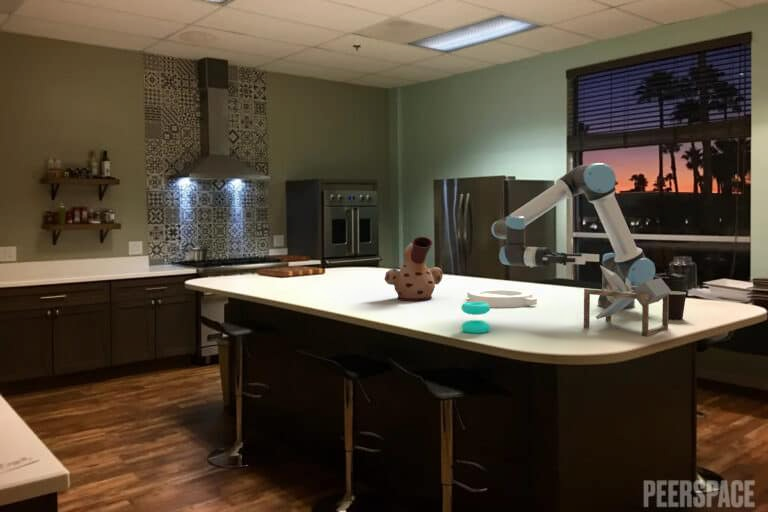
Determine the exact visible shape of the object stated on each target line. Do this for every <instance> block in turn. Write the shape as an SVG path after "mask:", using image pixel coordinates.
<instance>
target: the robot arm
mask: <svg viewBox="0 0 768 512" xmlns="http://www.w3.org/2000/svg"><path fill="white" fill-rule="evenodd" d="M616 181H617V175H616V172H615V171H614V169H613V168H612V167H611V166H609V165H608V164H606V163H601V162H593V163H589V164H581V165H578V166H576V167H574V168H573V169H571V170H570V171H568V172H567V173H565V174H564V175H562V176H561V177H560V178H558V179H557V180H556V181H555V183H554V184H553V185H552V186H551V187H549V188H547V189H545V190H544V191H543V192H542V193H540V194H538V195H537V196H535V197H534V198H532V199H531V200H530V201H528V202H526V203H525V204H524V205H522V206H521V207H518V209H516V210H514V211H513V212H511V213H510V214H509V215H507V216H505V217H504V218H503V219H499V220H497V221H496V220H495V221H494V222H493V224H492V225H491V228H490V229H491V234H492V235H493V236H494V237H495V238H497V239H500V240H505V245H504V246H501V248H500V251H499V255H498V257H499V260H500V263H501V264H503V265H506V266H513V267H514V266H515V267H516V266H517V267H519V266H520V267H530V268H531V269H532V268H534V267H539V268H540V267H541V268H547V267H549V266H550V264H560V265H562V266H567V264H568V265H569V264H570V265H586V262H600V254H597V253H584V252H583V251H581V252H580V253H565V252H556V251H555V252H551V249H550V248H549V247H542V246H541V247H538V246H526V227H527V225H529V224H530V223H531V224H532V222H534V221H535V220H537V219H538V218H539V217H541V216H543V215H544V214H545V213H547V212H549V211H550V210H551V209H553V208H554V207H556V206H557V205H559V204H560V203H562V202H563V201H565V200H571V199H572V198H574V197H577V196H578V195H581V194H584V196H585V198H586V199H587V201H588V202H589V203H591V204H592V205H594V206H593V207H594V208H595V210H596V212H597V215H598V217H599V219H600V223H601V224H602V226H603V229H604V231H605V233H606V236H607V237H608V241H609V242H610V245H611V247H612V249H613V252H609V253H605V254H603V255H602V261H601V264H602V265H601V266H602V267H604V268H606V269H608V270H610V271H611V272H613V273H614V272H615V273H616V274H617V275H618V276H619V277H620V278H621V280H622V281H623V282H624V284H625V280H626V278H627V279H628V280H629V281H630V282H631V286H635V287H638V286H639V285H641V284H642V283H643V282H645V281H649V280H654V276H655V274H656V267H655V263H654V262H653V261H652V259H651V260H650V259H649V258H648V257H646V256H645V253H644V250H643V249H642V248H640V247H637V245H636V242H635V241H634V238H633V236H632V234H631V231H630V229H629V227H628V226H629V225H628V224H627V222H626V219H625V217H624V215H623V213H622V210H621V208H620V205H619V203H618V201H617V199H616V196H615V193H616V191H617V188H616V187H615V184H616ZM601 272H602V278H601V279H602V282H601V283H602V285H601V287H602V288H601V290H604V289H606V285H607V284H609V282H608V281H607V279H606V277H605V275H604V273H603V271H602V270H601ZM609 285H610V284H609ZM625 286H626V285H625ZM603 288H604V289H603ZM598 296H599V297H598V299H597V306H599V307H603V308H606V296H604V295H598ZM635 301H636V299H635V300H634V301H632V302H631V303H630V304H628V305H627V306H626V307H624V308H623V309H631V308H635V306H636V304H635V303H636V302H635ZM611 305H612V302H611Z"/></svg>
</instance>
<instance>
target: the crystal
mask: <svg viewBox="0 0 768 512" xmlns="http://www.w3.org/2000/svg"><path fill="white" fill-rule="evenodd" d="M599 267H600V269H601V272H602V271H603V273H604V275H605V277H606V279H607V281H608V282H609V284H610V285H611V287H612V290H611V289H610V288H609V287H607V288H608V290H607V289H604V288H603V289H604V291H616V292H629V291H633V290H631V286H632V285H631V282H630V281H629V280H628V279H627V278H626V280H625V284H624V282H623V281H622V280H621V278H620V277H619V276H618V275H617V274H616V273H615V272H614V273H613V272H611V271H610V270H608V269H606V268H604V267H602V265H601V264H600V265H599ZM625 285H626V286H625ZM606 297H608V298H607V299H608V301H610V302H612V304H613V303H614V302H616V301H617V300H618V299H620V298H621V297H615V296H606Z"/></svg>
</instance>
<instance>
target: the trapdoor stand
mask: <svg viewBox="0 0 768 512" xmlns="http://www.w3.org/2000/svg"><path fill="white" fill-rule="evenodd" d="M607 287H609V288H610V289H611V290H612V287H611V285H609V284H607V285H606V289H607V290H608V288H607ZM637 287H638V286H633V285H631V290H634V289H636V288H637ZM591 295H593V296H595V295H596V296H600V295H604V296H615V297H626V298H637V299H643V303H642V305H641V308H642V309H641V315H642V317H641V321H642V322H641V336H642V337H648V336H651V335H653V334H656V333H660V332H662V331H666V330H667V329H669V319H668V308H669V294H668V295H667V296H665V297H664V298H663V299H662V316H661V317H662V318H661V321H662V324H661V325H658V326H655V327H653V328H650V329H649V317H650V316H649V308H650V304H649V294H640V293H628V292H616V291H604V290H602V289H591V288H584V289H583V329H590V321H591V319H590V312H591V310H590V309H591V307H590V306H591V304H590V303H591V298H590V297H591ZM607 298H608V297H606V307H605V309H607V308H608V307H609V306H610V305H611V302H610V301H608V299H607ZM637 299H636V300H637ZM605 322H608V323H611V322H612V315H610V316H607V317H605Z"/></svg>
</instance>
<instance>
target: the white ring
mask: <svg viewBox="0 0 768 512" xmlns="http://www.w3.org/2000/svg"><path fill="white" fill-rule="evenodd" d="M466 296H467V298H469V302H484V303H487V304H489V306H490V308H518V307H528V306H536V305H538V303H537V302H538V298H533V293H532V292H531V291H527V290H523V289H522V290H519V289H511V288H510V289H507V288H505V289H504V288H492V289H491V288H489V289H479V290H478V289H476V290H472V291H469V292H467V295H466Z"/></svg>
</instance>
